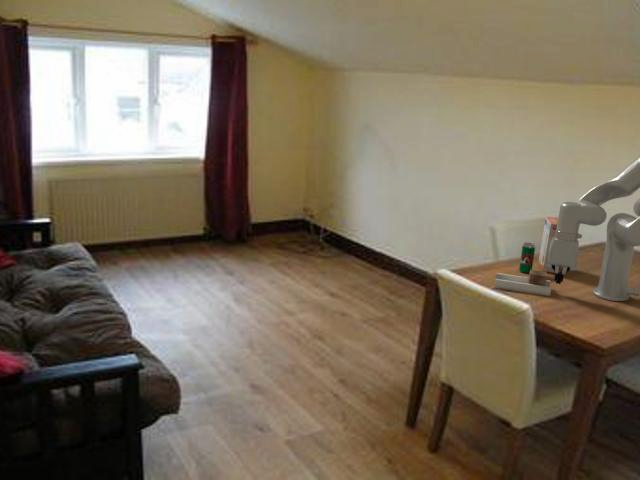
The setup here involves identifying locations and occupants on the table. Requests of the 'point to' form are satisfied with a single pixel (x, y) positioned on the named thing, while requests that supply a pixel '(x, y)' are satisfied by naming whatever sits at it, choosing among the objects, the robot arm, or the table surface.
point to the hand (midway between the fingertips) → (558, 282)
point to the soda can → (527, 257)
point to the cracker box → (547, 242)
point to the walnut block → (537, 277)
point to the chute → (521, 284)
